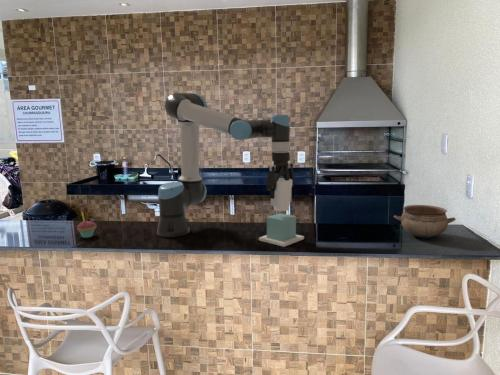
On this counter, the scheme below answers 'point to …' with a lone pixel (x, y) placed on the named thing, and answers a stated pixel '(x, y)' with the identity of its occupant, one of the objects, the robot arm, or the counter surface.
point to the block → (281, 226)
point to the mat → (281, 243)
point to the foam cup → (283, 194)
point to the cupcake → (86, 228)
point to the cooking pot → (424, 220)
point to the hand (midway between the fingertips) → (281, 203)
